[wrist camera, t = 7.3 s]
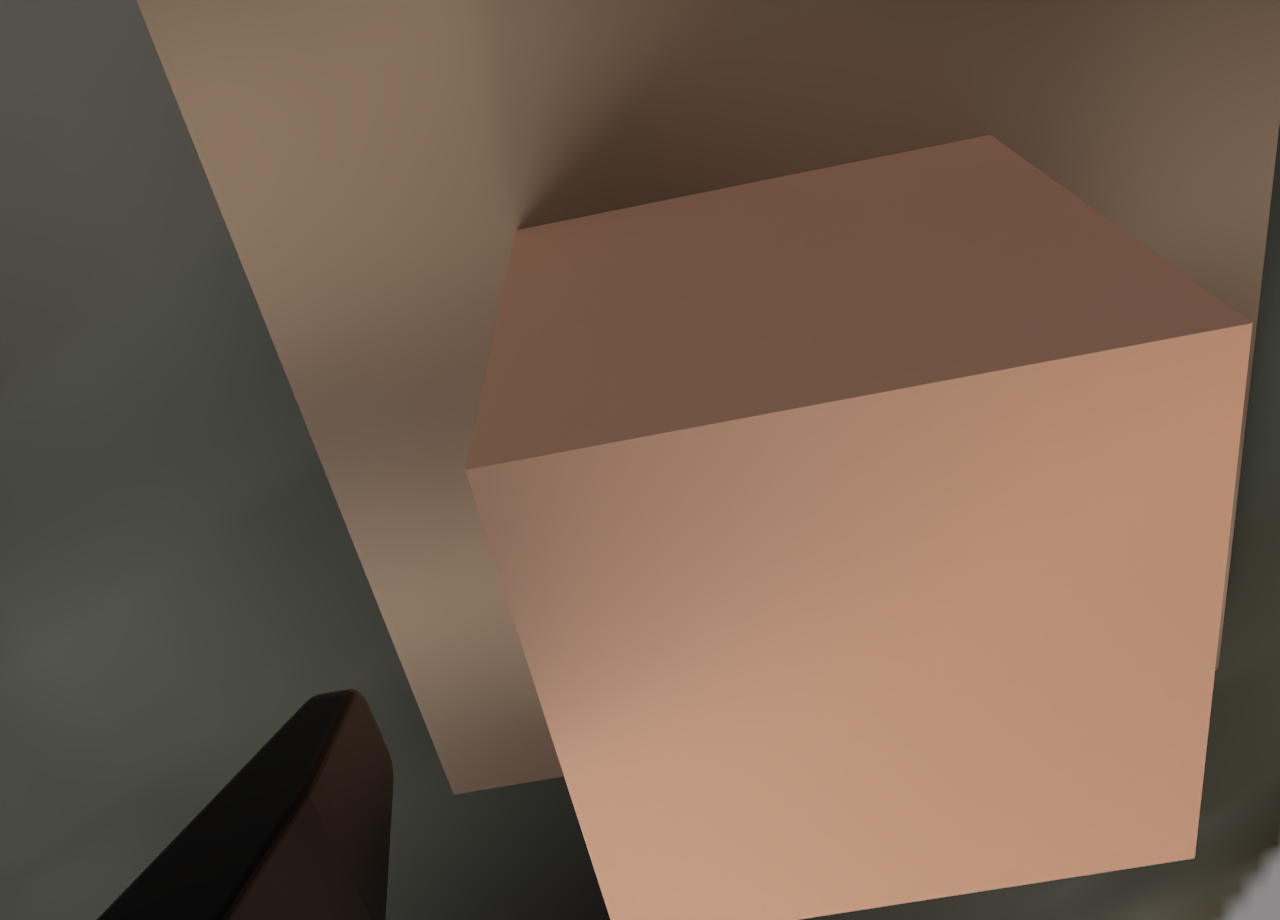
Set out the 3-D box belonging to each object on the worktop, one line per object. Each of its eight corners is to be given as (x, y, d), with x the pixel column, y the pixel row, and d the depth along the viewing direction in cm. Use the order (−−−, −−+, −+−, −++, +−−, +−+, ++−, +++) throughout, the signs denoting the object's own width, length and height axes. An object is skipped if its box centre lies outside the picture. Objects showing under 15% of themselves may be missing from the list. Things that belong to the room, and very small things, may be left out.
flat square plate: (1192, 634, 17) (1218, 668, 16) (459, 757, 18) (453, 795, 17) (1276, -262, 11) (1323, -270, 10) (160, -18, 12) (133, -8, 11)
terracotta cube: (1000, 530, 15) (1195, 858, 10) (612, 599, 15) (619, 947, 10) (990, 134, 12) (1252, 322, 7) (516, 230, 12) (464, 469, 8)
